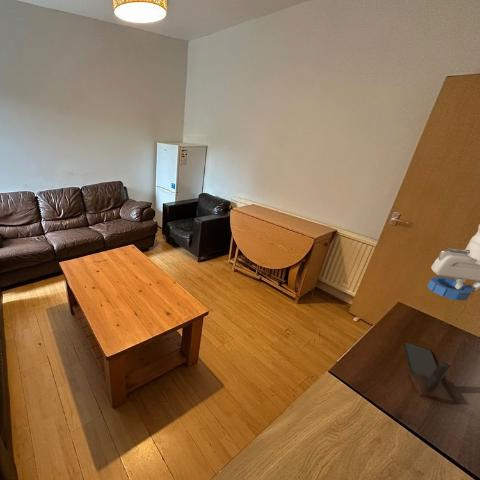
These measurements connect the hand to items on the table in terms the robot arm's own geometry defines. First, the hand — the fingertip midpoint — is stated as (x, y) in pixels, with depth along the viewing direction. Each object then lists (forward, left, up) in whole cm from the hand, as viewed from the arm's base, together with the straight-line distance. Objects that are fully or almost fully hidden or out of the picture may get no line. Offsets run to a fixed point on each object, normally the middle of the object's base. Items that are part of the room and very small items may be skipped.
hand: (464, 289), depth 83 cm
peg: (+14, +26, -21) cm, 36 cm away
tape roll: (+4, 0, -2) cm, 4 cm away
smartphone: (+11, +15, -21) cm, 28 cm away
